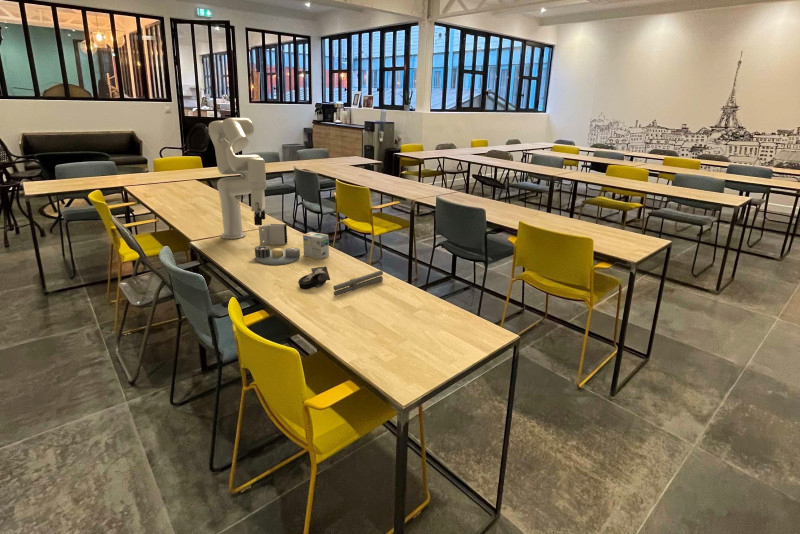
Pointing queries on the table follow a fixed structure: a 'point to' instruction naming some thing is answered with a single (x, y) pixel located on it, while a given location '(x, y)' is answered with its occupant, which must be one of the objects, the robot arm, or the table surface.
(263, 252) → the gear
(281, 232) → the hinge
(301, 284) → the caster wheel
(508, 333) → the table surface
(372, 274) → the metal rod assembly
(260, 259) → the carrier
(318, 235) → the light bulb box
